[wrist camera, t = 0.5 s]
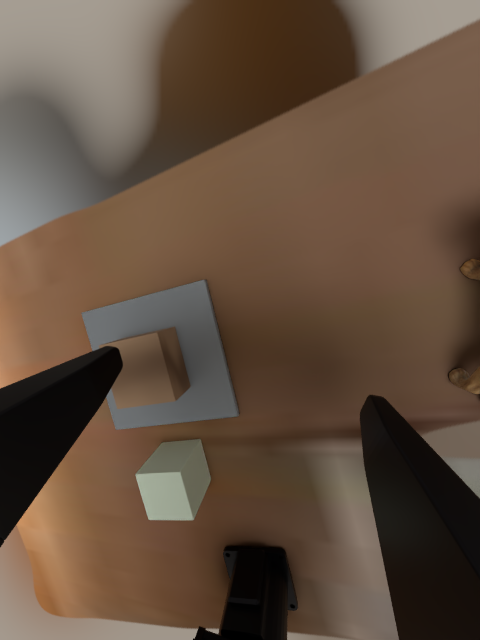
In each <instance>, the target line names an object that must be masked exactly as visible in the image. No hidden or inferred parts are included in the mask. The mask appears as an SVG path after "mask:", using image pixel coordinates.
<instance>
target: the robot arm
mask: <svg viewBox="0 0 480 640" xmlns="http://www.w3.org/2000/svg"><path fill="white" fill-rule="evenodd" d="M122 368H123V361H122V358H121V354H120V351H119V349H118V348H117V347H113V346H104V347H102V348H99V349H97V350H94V351H92V352H90V353H87V354H85V355H82V356H80V357H77V358H75V359H72V360H70V361H67V362H65V363H62V364H60V365H57V366H55V367H53V368H50V369H48V370H45V371H43V372H40V373H38V374H35V375H33V376H30V377H28V378H25V379H23V380H20V381H18V382H16V383H13V384H11V385H8V386H6V387H3V388H1V389H0V547H1V545H2V544H3V543H4V540H5V539H6V538H7V537H8V535H9V534H10V533H11V531H12V530H13V528H14V527H15V525H16V524H17V523H18V521H19V520H20V518H21V517H22V516H23V514H24V513H25V511H26V510H27V509H28V507H29V506H30V504H31V503H32V502H33V500H34V499H35V497H36V496H37V495H38V493H39V492H40V490H41V489H42V488H43V486H44V485H45V483H46V482H47V481H48V479H49V478H50V476H51V475H52V474H53V472H54V471H55V469H56V468H57V467H58V465H59V464H60V462H61V461H62V460H63V458H64V457H65V455H66V454H67V452H68V451H69V450H70V448H71V447H72V445H73V444H74V443H75V441H76V440H77V438H78V437H79V436H80V434H81V433H82V431H83V430H84V429H85V427H86V426H87V424H88V423H89V422H90V420H91V419H92V417H93V416H94V415H95V413H96V412H97V410H98V409H99V407H100V406H101V404H102V403H103V401H104V400H105V398H106V396H107V394H108V393H109V391H110V389H111V388H112V386H113V384H114V382H115V381H116V379H117V377H118V375H119V374H120V372H121V370H122ZM360 424H361V436H362V447H363V458H364V466H365V472H366V477H367V482H368V487H369V492H370V497H371V502H372V507H373V512H374V517H375V522H376V527H377V532H378V537H379V542H380V547H381V552H382V557H383V562H384V567H385V572H386V577H387V582H388V587H389V592H390V596H391V601H392V606H393V611H394V616H395V621H396V626H397V631H398V636H399V640H480V498H479V497H478V496H477V495H476V494H475V493H474V492H473V491H472V490H471V489H470V488H469V487H468V486H467V485H466V484H465V483H464V481H463V480H462V479H461V478H460V477H459V476H458V475H457V474H456V473H455V472H454V471H453V470H452V469H451V468H450V467H449V466H448V465H447V463H446V462H445V461H444V460H443V459H442V458H441V457H440V456H439V455H438V454H437V453H436V452H435V451H434V450H433V449H432V448H431V447H430V446H429V444H428V443H426V441H425V440H424V439H423V438H422V437H421V436H420V435H419V434H418V433H417V432H416V431H415V430H414V429H413V428H412V426H411V425H410V424H409V423H408V422H407V421H406V420H405V419H404V418H403V417H402V416H401V415H400V414H399V413H398V412H397V411H396V410H395V409H394V407H393V406H392V405H391V404H390V403H389V402H388V401H387V400H386V399H385V398H384V397H381V396H376V395H369V396H368V397H367V399H366V401H365V403H364V405H363V407H362V409H361V412H360ZM223 555H224V559H225V563H226V567H227V570H228V574H229V578H230V584H229V588H228V593H227V597H226V602H225V606H224V611H223V616H222V620H221V625H220V629H219V634H215V633H212V632H210V631H207V630H206V628H203V627H201V626H199V628H198V631H197V634H196V637H195V639H193V640H287V616H288V610H292V611H295V610H297V608H298V602H297V597H296V593H295V589H294V585H293V581H292V577H291V573H290V569H289V565H288V560H287V556H286V553H285V551H284V550H283V549H279V548H251V547H225V549H224V552H223Z"/></svg>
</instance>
